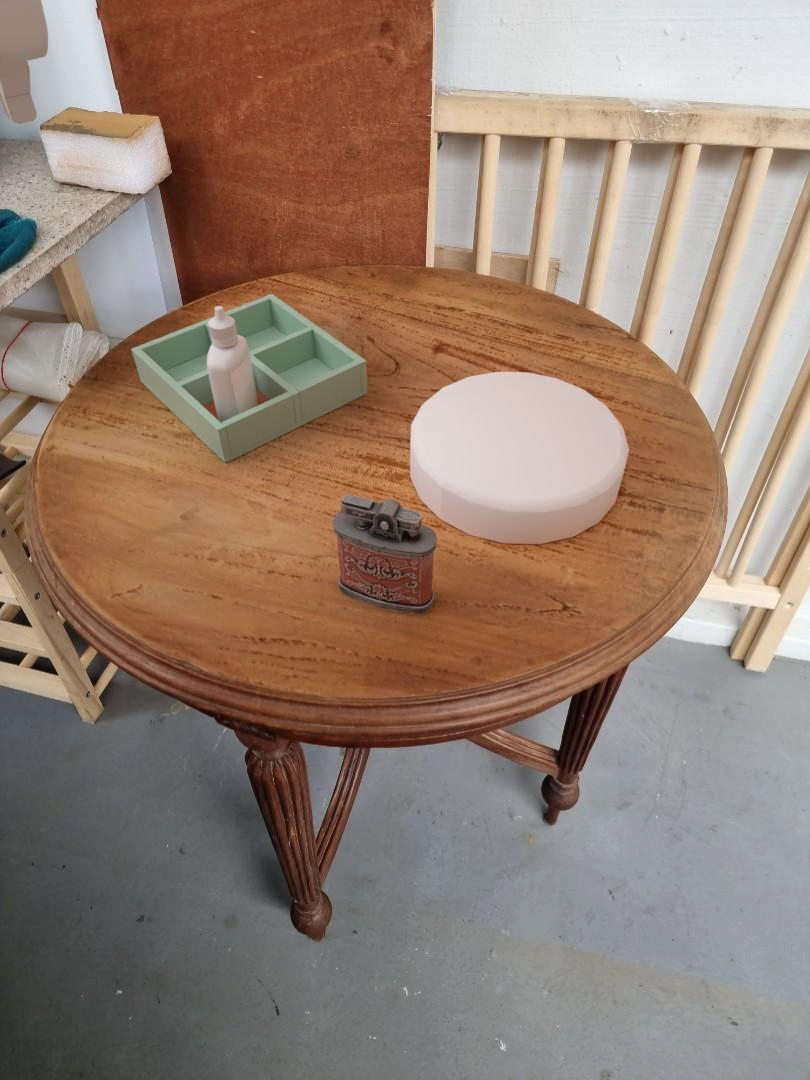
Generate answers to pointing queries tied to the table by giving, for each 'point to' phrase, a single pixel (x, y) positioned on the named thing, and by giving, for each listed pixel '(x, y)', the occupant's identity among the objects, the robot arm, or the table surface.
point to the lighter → (385, 555)
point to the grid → (279, 373)
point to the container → (517, 457)
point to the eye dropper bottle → (229, 368)
